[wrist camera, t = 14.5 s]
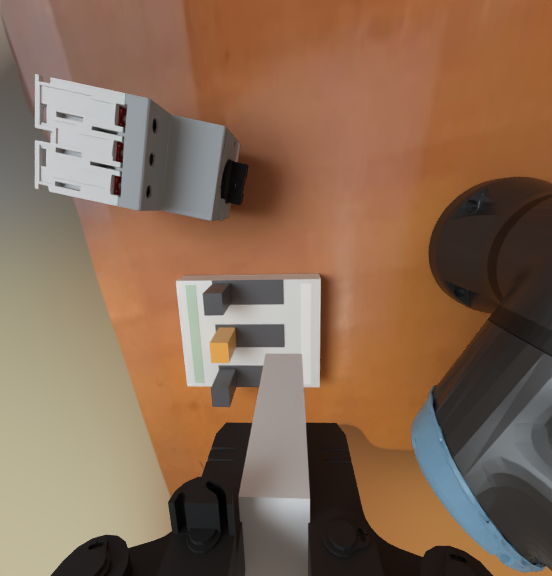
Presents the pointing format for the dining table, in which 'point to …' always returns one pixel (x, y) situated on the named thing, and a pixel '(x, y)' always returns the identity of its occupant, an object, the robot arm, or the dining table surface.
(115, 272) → the dining table surface
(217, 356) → the block
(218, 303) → the block
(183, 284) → the panel
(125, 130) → the circuit breaker
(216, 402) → the block
